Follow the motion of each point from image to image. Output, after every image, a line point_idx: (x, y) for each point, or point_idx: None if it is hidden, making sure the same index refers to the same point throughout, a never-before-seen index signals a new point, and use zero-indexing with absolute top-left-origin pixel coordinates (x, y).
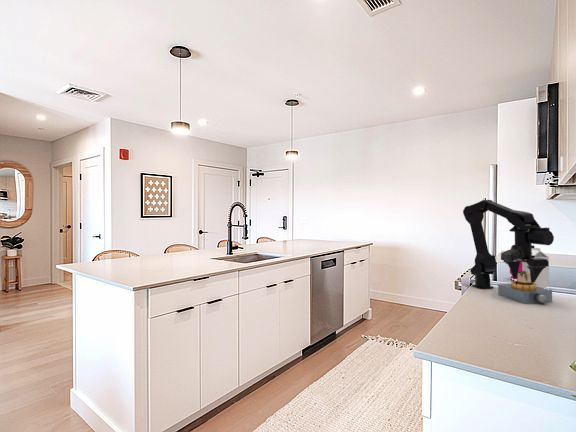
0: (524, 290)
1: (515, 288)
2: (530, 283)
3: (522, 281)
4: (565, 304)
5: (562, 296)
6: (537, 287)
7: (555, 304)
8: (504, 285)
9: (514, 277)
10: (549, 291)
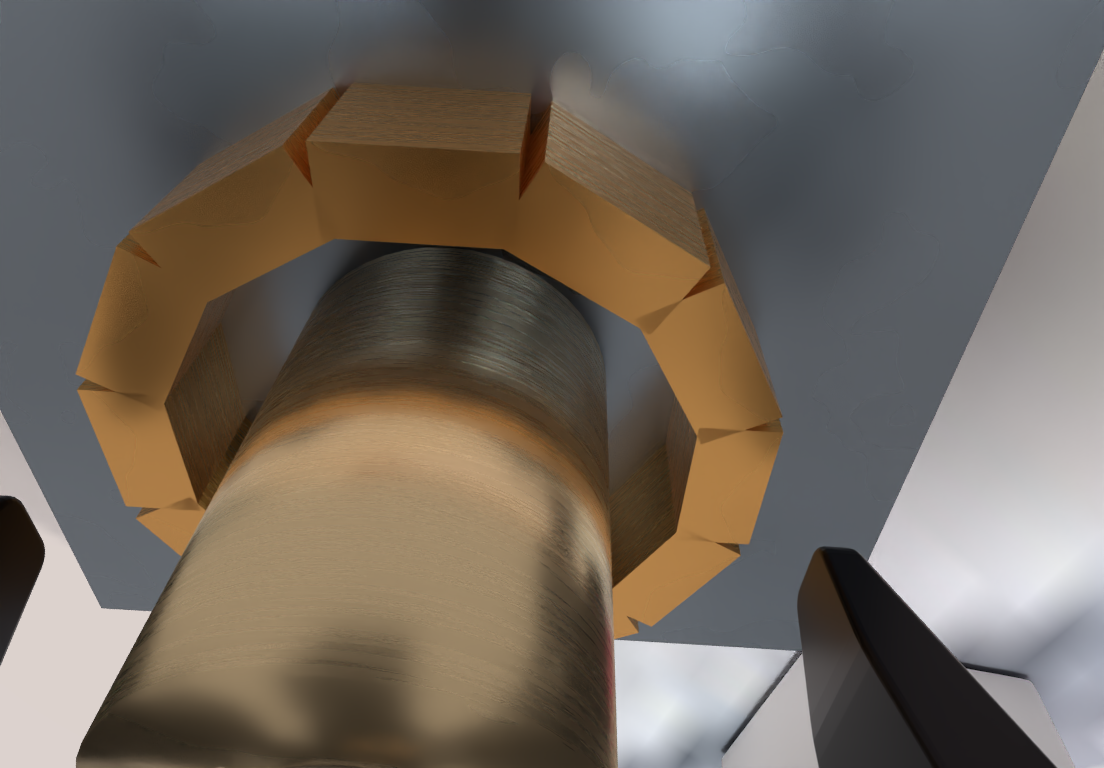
0: (67, 125)
1: (355, 56)
2: None
3: (273, 414)
4: None
5: None
6: None
7: None
8: (861, 29)
9: (819, 559)
10: (85, 559)
